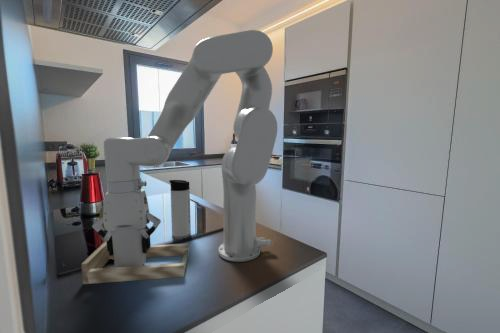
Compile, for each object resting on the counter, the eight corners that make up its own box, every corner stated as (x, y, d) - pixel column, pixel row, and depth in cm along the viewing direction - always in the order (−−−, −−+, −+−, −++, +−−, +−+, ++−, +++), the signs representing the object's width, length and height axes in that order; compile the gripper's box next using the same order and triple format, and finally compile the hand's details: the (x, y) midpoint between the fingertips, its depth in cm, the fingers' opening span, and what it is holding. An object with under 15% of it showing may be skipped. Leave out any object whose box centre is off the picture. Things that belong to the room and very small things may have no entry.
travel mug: (168, 235, 84) (166, 179, 82) (185, 230, 89) (184, 177, 86) (176, 241, 80) (174, 182, 77) (194, 236, 84) (192, 179, 82)
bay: (189, 252, 72) (188, 236, 72) (183, 276, 60) (183, 257, 60) (106, 257, 69) (105, 241, 68) (83, 284, 57) (81, 264, 56)
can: (134, 275, 60) (130, 228, 58) (107, 272, 61) (103, 226, 60) (152, 260, 67) (149, 218, 66) (128, 257, 69) (124, 216, 67)
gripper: (163, 182, 66) (166, 243, 69) (94, 184, 64) (100, 248, 66) (156, 188, 59) (161, 256, 61) (79, 191, 57) (86, 262, 59)
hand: (129, 251), depth 64 cm, fingers closed on can, 7 cm apart
